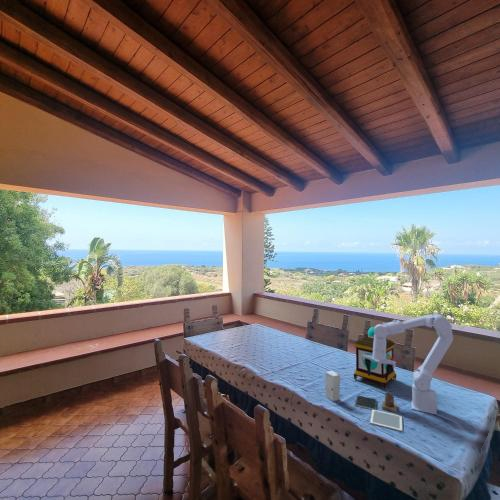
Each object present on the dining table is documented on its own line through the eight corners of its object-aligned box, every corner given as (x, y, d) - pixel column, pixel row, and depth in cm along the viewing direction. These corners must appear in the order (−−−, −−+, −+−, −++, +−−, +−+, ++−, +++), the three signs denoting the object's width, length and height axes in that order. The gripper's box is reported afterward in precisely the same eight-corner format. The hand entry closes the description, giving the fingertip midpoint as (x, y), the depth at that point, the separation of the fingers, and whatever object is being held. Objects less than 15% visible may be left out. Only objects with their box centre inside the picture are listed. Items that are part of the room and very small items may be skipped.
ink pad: (376, 401, 134) (376, 399, 134) (375, 410, 126) (375, 407, 126) (357, 397, 138) (357, 394, 138) (354, 405, 130) (354, 402, 130)
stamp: (396, 406, 130) (396, 393, 130) (396, 413, 124) (396, 399, 125) (382, 403, 132) (382, 390, 133) (382, 409, 127) (381, 396, 127)
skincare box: (324, 396, 139) (324, 371, 140) (332, 394, 141) (331, 370, 142) (333, 401, 134) (333, 376, 134) (340, 400, 136) (340, 374, 136)
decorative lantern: (400, 380, 158) (399, 327, 160) (387, 391, 145) (386, 333, 146) (365, 370, 173) (364, 321, 174) (350, 379, 159) (349, 326, 160)
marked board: (402, 417, 121) (402, 415, 121) (402, 432, 110) (402, 430, 110) (372, 410, 126) (372, 409, 126) (369, 423, 116) (369, 422, 116)
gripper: (362, 348, 137) (360, 375, 137) (395, 355, 130) (393, 384, 129) (364, 344, 143) (362, 371, 143) (396, 351, 136) (394, 379, 135)
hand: (377, 377), depth 137 cm, fingers open, 7 cm apart
